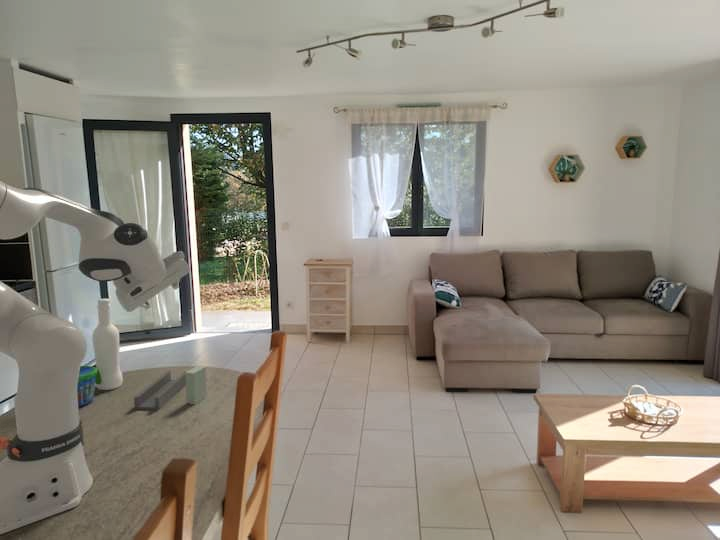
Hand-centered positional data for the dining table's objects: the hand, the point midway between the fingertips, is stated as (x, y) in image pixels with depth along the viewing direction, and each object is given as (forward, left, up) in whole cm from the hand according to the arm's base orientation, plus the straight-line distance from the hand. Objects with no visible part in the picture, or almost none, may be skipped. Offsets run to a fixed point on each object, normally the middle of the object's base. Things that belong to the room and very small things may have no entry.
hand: (161, 296), depth 138 cm
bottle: (-1, +33, -35) cm, 48 cm away
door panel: (+10, 0, -35) cm, 36 cm away
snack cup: (-13, +27, -35) cm, 46 cm away
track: (+6, +12, -35) cm, 37 cm away
